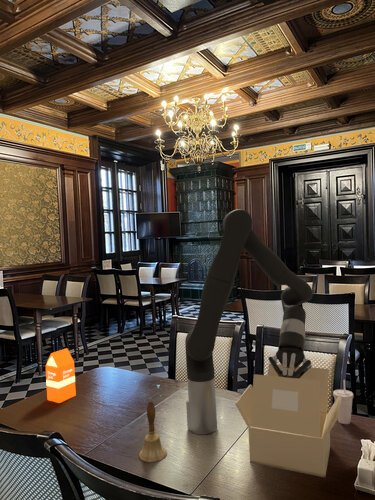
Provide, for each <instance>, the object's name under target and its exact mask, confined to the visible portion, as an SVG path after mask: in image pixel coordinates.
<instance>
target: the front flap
mask: <svg viewBox="0 0 375 500" xmlns="http://www.w3.org/2000/svg"><path fill="white" fill-rule="evenodd" d="M252 380H253V383H252V387H253V394H252V409H251V424H250V427H256V428H263V429H269V430H275V431H281V432H287V433H294V434H300V435H306V436H312V437H318V438H320V381H316V380H306V379H296V378H287V377H277V376H267V374H266V375H265V374H253V379H252Z"/></svg>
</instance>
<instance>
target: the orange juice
mask: <svg viewBox="0 0 375 500" xmlns="http://www.w3.org/2000/svg"><path fill="white" fill-rule="evenodd" d="M45 378H46V379H45V381H46V397H47V401H48V402H54V403H57V404H60V403H63V402H65V401H67V400H69V399H71V398H73V397H75V396H76V395H77V392H76V390H77V389H76V372H75V361H74V359H73V357H72V355H71V352H70V351H69V349H68V348H67V347H66V348H64V349H60V350H57V351H54V352H51V353H50V355H49V357H48V359H47V362H46V364H45Z"/></svg>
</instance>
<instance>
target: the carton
mask: <svg viewBox="0 0 375 500" xmlns="http://www.w3.org/2000/svg"><path fill="white" fill-rule="evenodd" d="M277 365H278V367H279V368H280V370H281V371H283V366H282V365H281V364H278V363H277ZM301 366H302V365H301ZM301 366H300V365H299V366H298V367H297V368H296V370H298V369H299V368H300V367H301ZM267 368H268V369H267V373H266V375H267V376H277V377H279V376H278V374H277V373H276V371H275V370H274V368H273V367H272V365H271V364H270V363H268V367H267ZM289 369H290V368H289ZM288 376H289V372H288ZM329 376H330V369H329V368H322V367H321V368H320V367H311V368H310V369H309V370H308V371H307V372H306V373H305V374H304V375H302V376H301V377H300V378H299V379H306V380H316V381H320V438H318V437H312V436H306V435H300V434H294V433H287V432H281V431H275V430H269V429H263V428H256V427H250V424H251V409H252V394H253V384H249V385H248V386H247V387H246V389H245V390H244V392H243V393H242V394H241V395H240V397H239V398H238V399H237V401H236V402H235V403H234V405H235V406H236V408H237V410H238V412H239V414H240V416H241V417H242V419H243V420H244V423H245V424H246V426H247V428H248V445H249V446H248V447H249V463H251V464H255V465H256V464H257V465H260V466H261V465H262V466H265V467H270V468H271V467H272V468H276V469H279V470H280V469H281V470H287V471H291V472H294V473H295V472H296V473H301V474H305V475H311V476H316V477H321V478H326V476H327V470H328V469H327V468H328V463H329V459H330V458H329V457H330V450H331V430H332V429H333V427H334V426H335V424H336V422H338V417H339V410H340V403H341V396H342V395H339V396H338V398H337V399H336V401H335V400H334V403H333V404H332V406H331V408H330V409H329V411H328V407H329V381H330V379H329V378H330V377H329ZM296 379H298V378H296Z"/></svg>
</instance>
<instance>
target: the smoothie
mask: <svg viewBox="0 0 375 500" xmlns="http://www.w3.org/2000/svg"><path fill="white" fill-rule="evenodd" d="M342 381H343V383H342V384H343V389H335V390H333V391H332V392H333V393H332V396H333V397H334V402H335V401H336V399H337V398H338V396H339V395H342V396H341V403H340V410H339V417H338V419H337V422H338V423H340V424H343V425H349V424H351V419H352V418H351V417H352V409H353V408H352V407H353V399H354V393H353V392H352V391H350V390H347V389H346V379H343V380H342Z"/></svg>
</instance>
